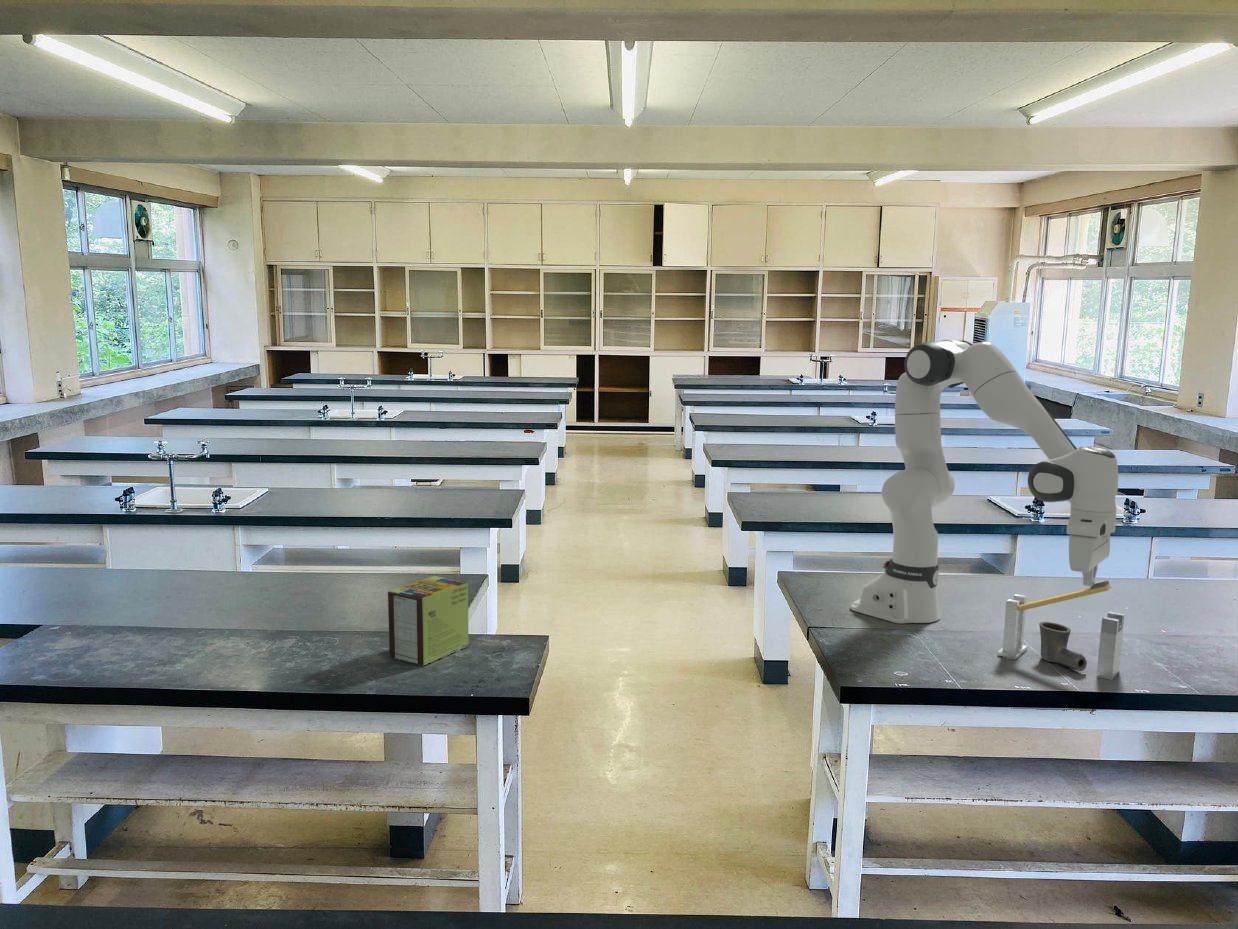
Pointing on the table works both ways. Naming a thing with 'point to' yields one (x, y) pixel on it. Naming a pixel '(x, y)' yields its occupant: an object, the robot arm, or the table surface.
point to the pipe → (1059, 646)
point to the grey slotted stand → (1014, 629)
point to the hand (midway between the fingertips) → (1088, 584)
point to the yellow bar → (1067, 596)
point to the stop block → (1110, 645)
